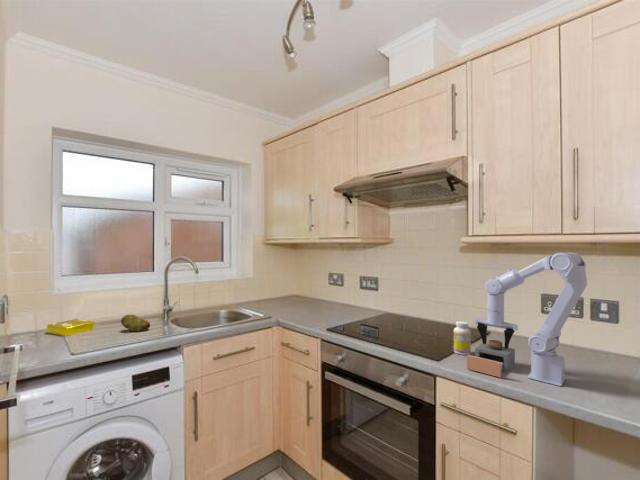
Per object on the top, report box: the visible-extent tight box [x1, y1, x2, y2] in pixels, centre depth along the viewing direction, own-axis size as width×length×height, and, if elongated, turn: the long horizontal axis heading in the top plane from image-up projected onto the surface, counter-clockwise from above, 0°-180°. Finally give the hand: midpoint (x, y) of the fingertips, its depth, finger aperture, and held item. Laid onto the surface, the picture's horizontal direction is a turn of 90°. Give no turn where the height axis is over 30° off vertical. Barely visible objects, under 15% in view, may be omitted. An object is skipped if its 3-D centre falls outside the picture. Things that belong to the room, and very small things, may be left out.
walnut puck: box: [488, 339, 503, 350], centre depth 126 cm, size 5×5×2 cm
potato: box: [120, 314, 151, 332], centre depth 168 cm, size 8×13×8 cm, turn 80°
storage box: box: [474, 342, 516, 373], centre depth 126 cm, size 11×10×6 cm
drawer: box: [466, 354, 504, 378], centre depth 120 cm, size 11×10×5 cm
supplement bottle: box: [453, 320, 472, 356], centre depth 139 cm, size 7×7×13 cm
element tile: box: [46, 318, 95, 337], centre depth 166 cm, size 15×15×5 cm
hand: (495, 345), depth 126 cm, fingers open, 7 cm apart
